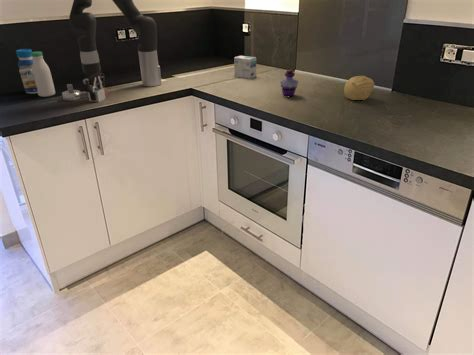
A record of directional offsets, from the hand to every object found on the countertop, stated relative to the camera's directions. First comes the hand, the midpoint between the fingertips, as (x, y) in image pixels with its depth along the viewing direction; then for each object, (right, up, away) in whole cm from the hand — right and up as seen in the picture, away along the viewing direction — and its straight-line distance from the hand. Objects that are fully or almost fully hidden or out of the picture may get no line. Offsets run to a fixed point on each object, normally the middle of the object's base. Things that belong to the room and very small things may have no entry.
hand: (97, 98), depth 176 cm
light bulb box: (+69, +20, +37) cm, 81 cm away
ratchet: (-7, +2, +5) cm, 9 cm away
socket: (0, -1, 0) cm, 1 cm away
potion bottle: (+89, +2, +4) cm, 89 cm away
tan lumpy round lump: (+120, -1, -1) cm, 120 cm away
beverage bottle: (-36, +6, +13) cm, 39 cm away
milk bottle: (-28, +3, +8) cm, 29 cm away
